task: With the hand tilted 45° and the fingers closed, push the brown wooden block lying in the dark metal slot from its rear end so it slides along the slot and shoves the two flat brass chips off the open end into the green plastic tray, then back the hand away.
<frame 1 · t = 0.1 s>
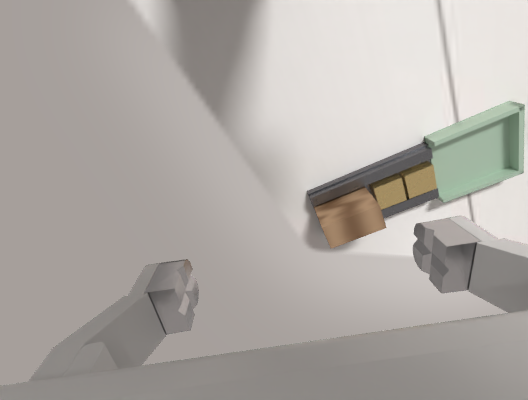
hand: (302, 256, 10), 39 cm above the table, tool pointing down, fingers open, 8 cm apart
brass chip 2: (415, 177, 51), point 1 cm above the table, touching slot bed
slot bed: (370, 191, 54), on the table
brown wooden block: (342, 206, 54), point 1 cm above the table, touching slot bed
brass chip 1: (385, 189, 52), point 1 cm above the table, touching slot bed
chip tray: (468, 152, 51), on the table
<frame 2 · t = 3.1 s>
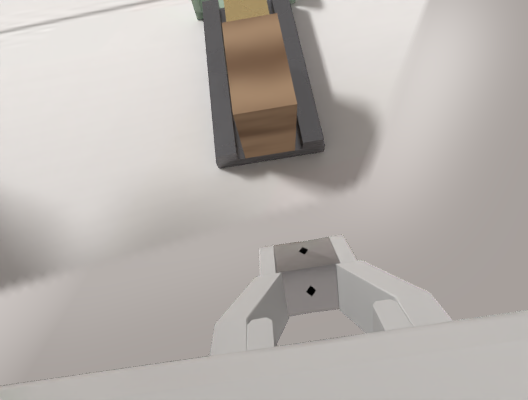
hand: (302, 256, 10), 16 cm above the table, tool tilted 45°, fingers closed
brass chip 2: (247, 20, 35), point 1 cm above the table, touching slot bed
slot bed: (257, 77, 33), on the table
brown wooden block: (263, 113, 30), point 1 cm above the table, touching slot bed
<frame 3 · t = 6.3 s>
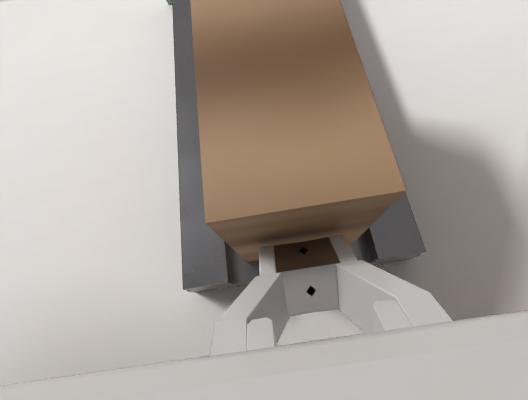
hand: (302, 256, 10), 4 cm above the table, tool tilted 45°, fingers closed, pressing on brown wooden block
slot bed: (268, 102, 18), on the table
brown wooden block: (281, 162, 15), point 1 cm above the table, touching gripper
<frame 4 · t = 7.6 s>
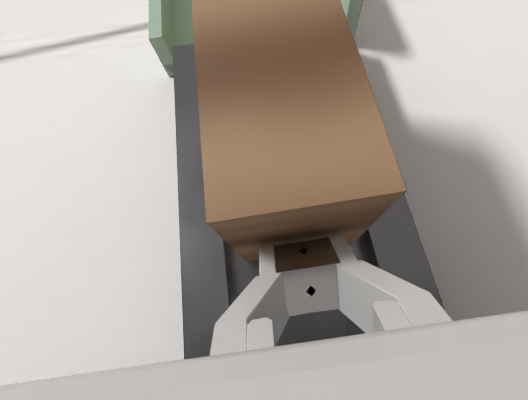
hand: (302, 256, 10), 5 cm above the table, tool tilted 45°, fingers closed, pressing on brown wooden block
slot bed: (287, 212, 15), on the table
brown wooden block: (281, 162, 15), point 1 cm above the table, touching gripper, slot bed
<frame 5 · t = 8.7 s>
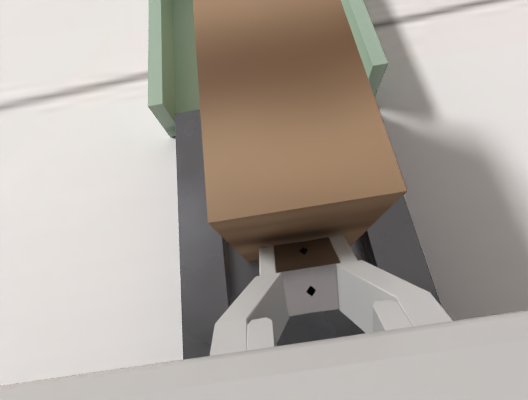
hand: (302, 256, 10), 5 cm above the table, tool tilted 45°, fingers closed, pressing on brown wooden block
slot bed: (304, 308, 14), on the table
brown wooden block: (282, 162, 15), point 1 cm above the table, touching gripper, slot bed
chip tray: (255, 39, 20), on the table
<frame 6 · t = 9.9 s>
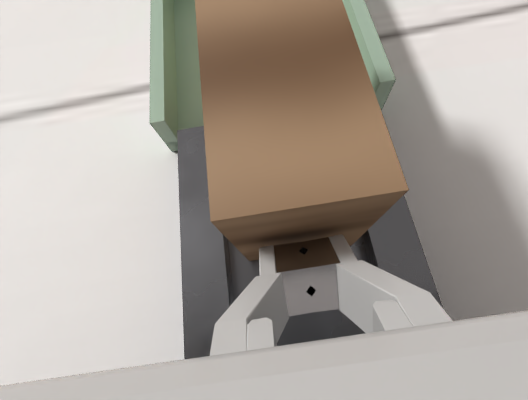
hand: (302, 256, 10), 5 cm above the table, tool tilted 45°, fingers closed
slot bed: (309, 333, 13), on the table
brown wooden block: (283, 162, 15), point 1 cm above the table, touching brass chip 1, slot bed
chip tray: (259, 51, 20), on the table
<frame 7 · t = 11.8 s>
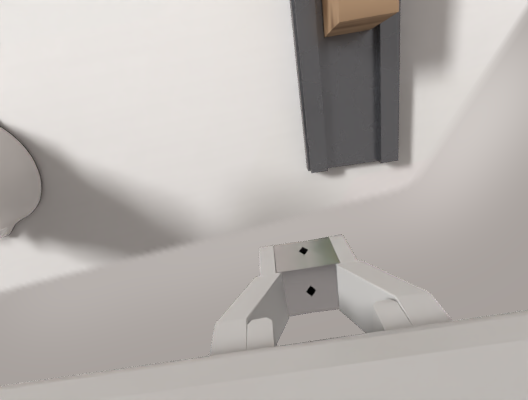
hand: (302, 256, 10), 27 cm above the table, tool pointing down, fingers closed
slot bed: (344, 70, 33), on the table
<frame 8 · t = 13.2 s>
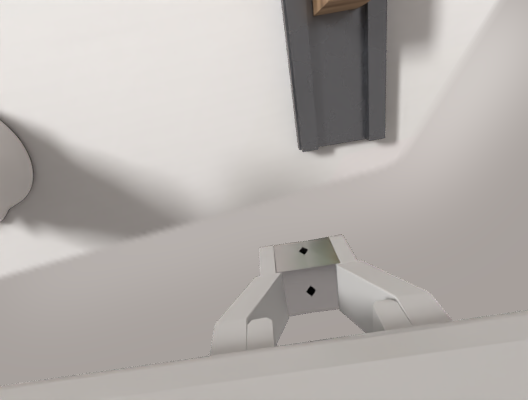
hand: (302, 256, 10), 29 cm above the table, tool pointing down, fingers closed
slot bed: (333, 50, 33), on the table
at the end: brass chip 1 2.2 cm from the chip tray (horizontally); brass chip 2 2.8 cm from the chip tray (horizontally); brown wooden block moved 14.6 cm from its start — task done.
